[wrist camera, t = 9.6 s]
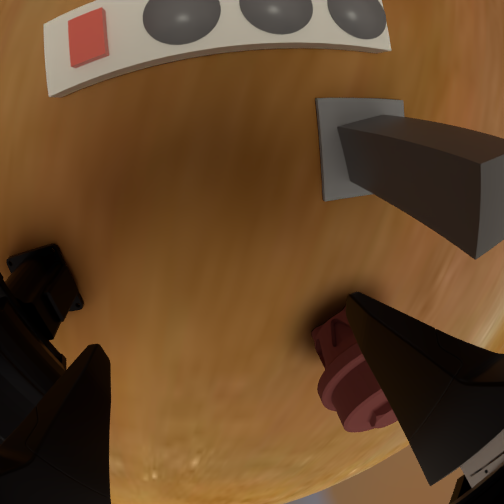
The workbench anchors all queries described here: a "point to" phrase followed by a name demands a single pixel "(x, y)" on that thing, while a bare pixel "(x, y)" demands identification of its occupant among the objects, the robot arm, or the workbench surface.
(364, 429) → the mechanical component
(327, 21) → the power strip
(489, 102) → the workbench surface
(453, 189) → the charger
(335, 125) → the mat
